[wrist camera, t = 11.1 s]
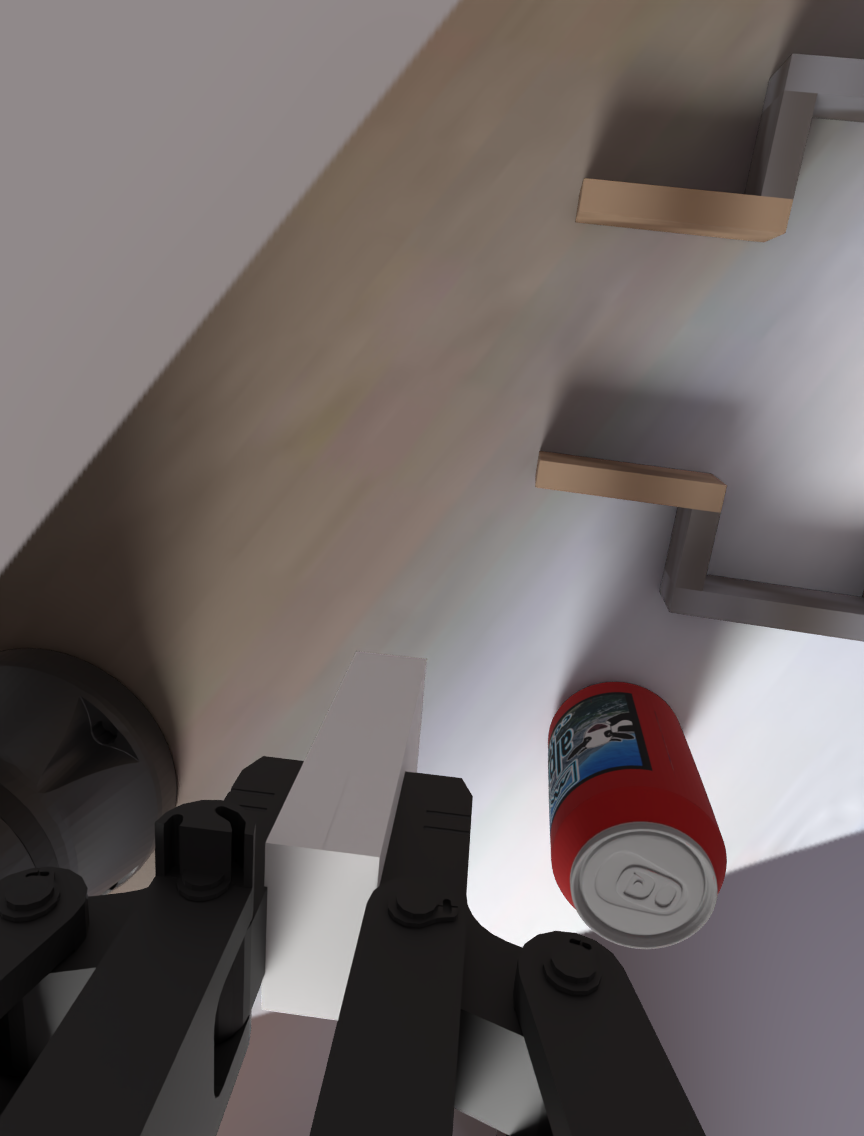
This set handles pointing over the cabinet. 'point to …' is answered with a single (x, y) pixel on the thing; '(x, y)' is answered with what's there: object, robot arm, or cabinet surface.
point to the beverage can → (631, 818)
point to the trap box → (751, 216)
